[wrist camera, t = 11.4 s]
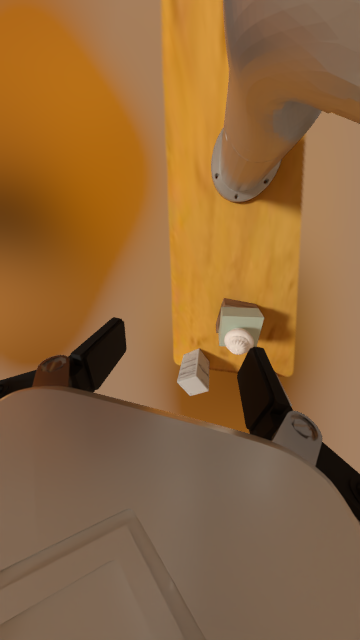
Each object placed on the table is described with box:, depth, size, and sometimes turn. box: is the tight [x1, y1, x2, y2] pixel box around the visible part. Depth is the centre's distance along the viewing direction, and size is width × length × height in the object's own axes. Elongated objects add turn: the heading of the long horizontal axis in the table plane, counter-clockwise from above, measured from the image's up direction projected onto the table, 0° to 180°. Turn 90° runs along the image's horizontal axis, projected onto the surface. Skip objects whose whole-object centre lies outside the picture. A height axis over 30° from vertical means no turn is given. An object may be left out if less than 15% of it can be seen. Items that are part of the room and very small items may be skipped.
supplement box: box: [177, 349, 209, 396], centre depth 51 cm, size 7×7×13 cm
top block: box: [219, 307, 264, 348], centre depth 38 cm, size 9×9×5 cm
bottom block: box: [216, 298, 258, 333], centre depth 43 cm, size 9×9×5 cm
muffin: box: [224, 328, 254, 355], centre depth 33 cm, size 6×6×7 cm
